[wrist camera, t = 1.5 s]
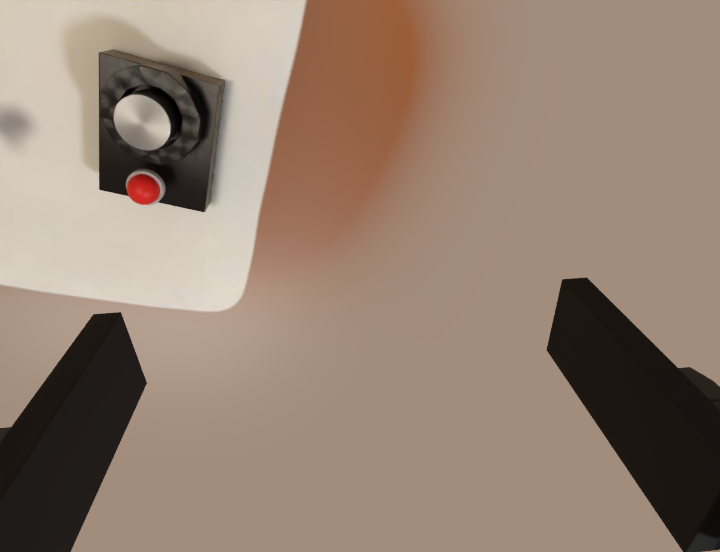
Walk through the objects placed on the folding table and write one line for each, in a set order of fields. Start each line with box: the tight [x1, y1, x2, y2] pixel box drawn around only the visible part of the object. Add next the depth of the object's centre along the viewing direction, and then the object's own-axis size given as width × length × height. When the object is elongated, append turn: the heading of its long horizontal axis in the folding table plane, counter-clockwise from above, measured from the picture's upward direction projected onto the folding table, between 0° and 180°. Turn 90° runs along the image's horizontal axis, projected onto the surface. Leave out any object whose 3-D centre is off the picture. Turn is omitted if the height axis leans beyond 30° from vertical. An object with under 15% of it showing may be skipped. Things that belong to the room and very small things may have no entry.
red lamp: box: [126, 169, 165, 205], centre depth 33 cm, size 3×3×2 cm
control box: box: [99, 50, 225, 212], centre depth 34 cm, size 10×8×4 cm
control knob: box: [113, 89, 179, 151], centre depth 31 cm, size 4×4×2 cm
